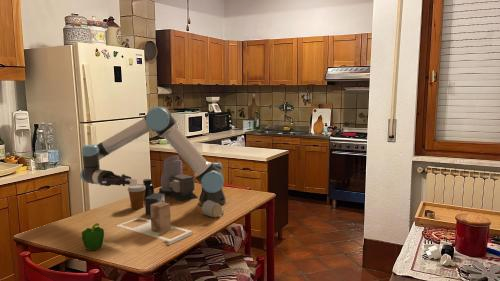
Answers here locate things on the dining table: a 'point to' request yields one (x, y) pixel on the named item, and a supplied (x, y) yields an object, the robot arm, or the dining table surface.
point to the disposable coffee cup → (137, 196)
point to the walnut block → (160, 217)
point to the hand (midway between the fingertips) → (135, 183)
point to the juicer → (176, 181)
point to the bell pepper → (93, 237)
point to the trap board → (147, 230)
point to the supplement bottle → (148, 187)
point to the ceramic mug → (212, 209)
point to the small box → (153, 201)
